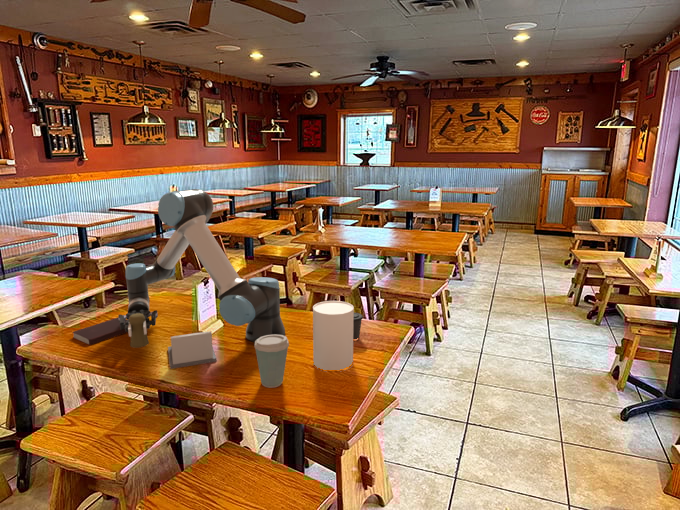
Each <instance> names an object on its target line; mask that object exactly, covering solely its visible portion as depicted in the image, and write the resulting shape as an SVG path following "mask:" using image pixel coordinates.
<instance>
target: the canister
mask: <svg viewBox="0 0 680 510" xmlns="http://www.w3.org/2000/svg"><path fill="white" fill-rule="evenodd" d="M354 309H355V308H354V305H353V304H351V303H349V302H347V301H341V300H326V301H321V302H317V303H315V304H314V305H313V306H312V333H313V334H312V335H313V336H312V342H313V343H312V344H313V345H312V346H313V349H312V350H313V353H312V355H313V357H312V358H313V360H312V361H313V362H314V363H313V366H314V365H315V366H316V367H317V368H316V367H315V366H314V367H315V368H316V369H318V368H320V369H323V370H340V369H344V368H346V367H349V366H350V365H351V364H352V362H353V363H354V341H353V318H354V313H355V312H354V311H355V310H354Z"/></svg>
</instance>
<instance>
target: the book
mask: <svg viewBox="0 0 680 510" xmlns="http://www.w3.org/2000/svg"><path fill="white" fill-rule="evenodd" d="M127 320H128V319H126V320H125V322H124V323H126V321H127ZM123 333H124V334H126V331H125V328H124V330H121V329H120V322H119V317H115V318H111V319H109V320H105V321H103V322H99V323H96V324H93V325H91V326H88V327H84V328H80V329H78V330H74V331H73V332H72V334H73V337H72V338H73V339H76V340H78V341H80V342H83V343H85V344H87V345H89V346H92V345H94V344H97V343H100V342H103V341H106V340H109V339H111V337H112V338H114V336H115V337H118V336H120V334H121V335H123ZM117 335H118V336H117ZM108 338H109V339H108ZM105 339H106V340H105Z"/></svg>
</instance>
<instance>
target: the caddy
mask: <svg viewBox="0 0 680 510" xmlns="http://www.w3.org/2000/svg"><path fill="white" fill-rule="evenodd" d="M212 333H213V332H212V330H209V331H203V332H202V331H201V332H194V333H188V334H180V335H174V336H173V335H172V336H170V344H171V346H168V347H167V349H168V350H167V352H168V360H169V368H170V370H172V369H178V368H184V367H189V366H196V365H203V364H209V363H215V362H216V363H217V356H216V353H215V349H214V346H213V335H212Z"/></svg>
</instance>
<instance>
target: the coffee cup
mask: <svg viewBox="0 0 680 510" xmlns="http://www.w3.org/2000/svg"><path fill="white" fill-rule="evenodd" d="M362 319H364V316H363V315H362V314H361V313H359V312H354V318H353V339H357V338H359V339H360V337H361V336H360V333H361V327H362Z"/></svg>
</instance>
